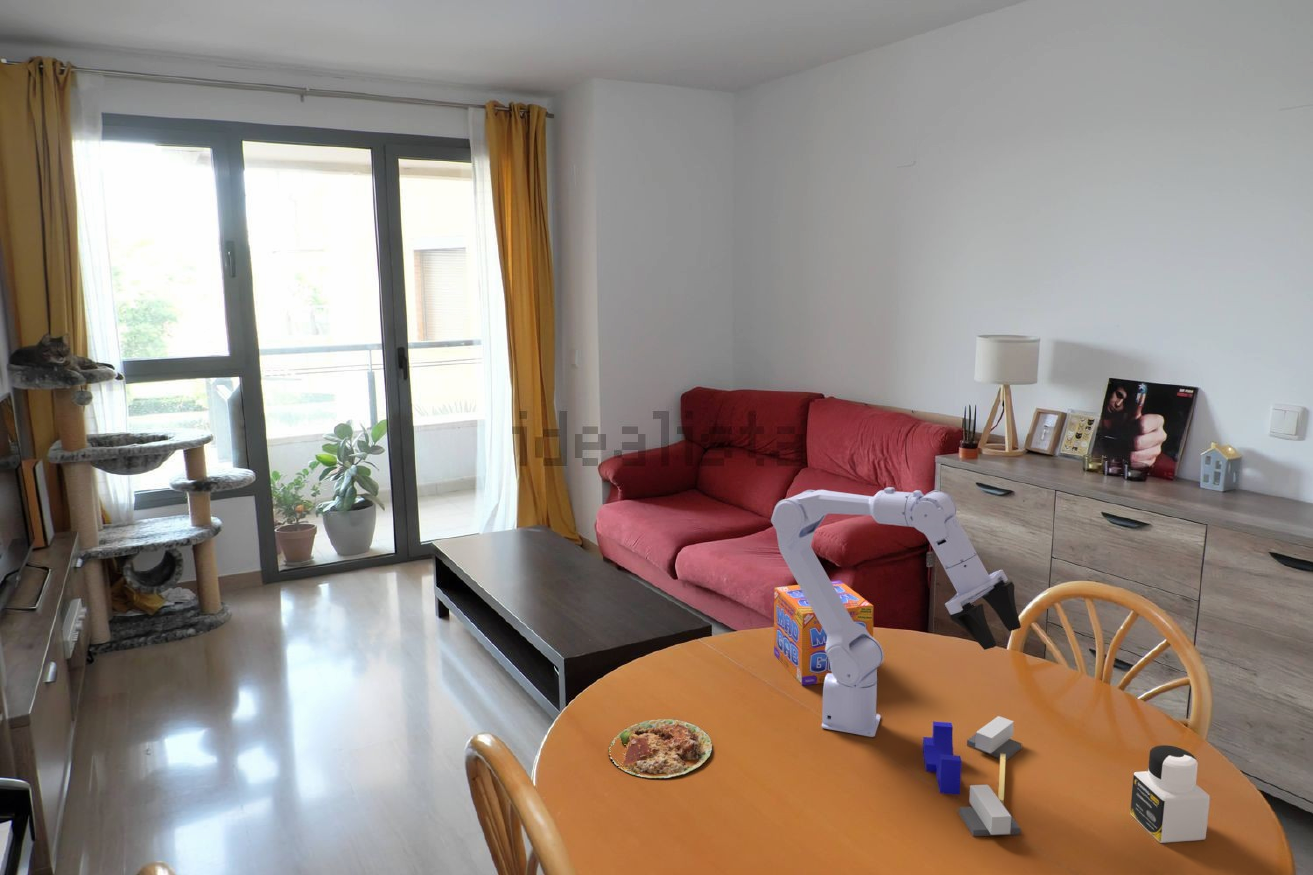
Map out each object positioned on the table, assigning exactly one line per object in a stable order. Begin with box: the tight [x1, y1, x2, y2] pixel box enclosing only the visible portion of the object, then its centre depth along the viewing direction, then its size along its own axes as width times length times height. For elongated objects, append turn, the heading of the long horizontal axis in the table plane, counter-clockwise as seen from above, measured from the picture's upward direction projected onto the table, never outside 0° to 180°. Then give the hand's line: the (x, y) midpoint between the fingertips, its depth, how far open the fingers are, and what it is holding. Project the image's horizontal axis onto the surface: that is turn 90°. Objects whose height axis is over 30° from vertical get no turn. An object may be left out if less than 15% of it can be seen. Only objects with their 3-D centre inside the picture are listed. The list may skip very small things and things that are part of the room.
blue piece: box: [922, 720, 962, 795], centre depth 143 cm, size 12×4×6 cm, turn 169°
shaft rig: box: [958, 715, 1022, 837], centre depth 140 cm, size 9×31×4 cm, turn 157°
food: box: [607, 718, 713, 780], centre depth 152 cm, size 18×18×3 cm
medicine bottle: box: [1129, 744, 1211, 844], centre depth 128 cm, size 7×7×12 cm
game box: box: [773, 580, 875, 686], centre depth 182 cm, size 16×16×16 cm
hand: (1003, 638), depth 140 cm, fingers open, 7 cm apart
